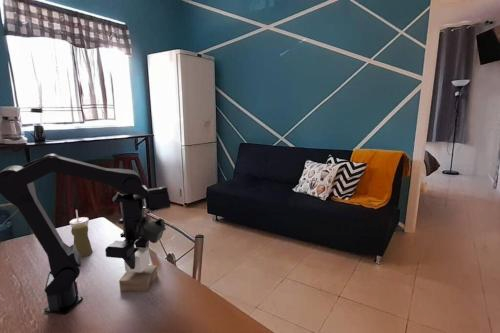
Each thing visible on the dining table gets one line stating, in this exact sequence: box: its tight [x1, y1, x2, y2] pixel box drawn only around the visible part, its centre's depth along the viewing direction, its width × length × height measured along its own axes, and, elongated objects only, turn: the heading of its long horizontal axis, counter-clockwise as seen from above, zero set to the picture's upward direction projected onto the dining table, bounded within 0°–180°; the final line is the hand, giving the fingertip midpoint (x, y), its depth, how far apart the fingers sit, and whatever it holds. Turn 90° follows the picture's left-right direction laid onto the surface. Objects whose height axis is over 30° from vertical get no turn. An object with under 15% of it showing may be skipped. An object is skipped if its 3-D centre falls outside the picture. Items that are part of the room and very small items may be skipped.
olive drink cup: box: [70, 224, 94, 259], centre depth 102 cm, size 6×6×11 cm
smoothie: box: [69, 209, 90, 236], centre depth 109 cm, size 6×6×14 cm
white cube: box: [123, 246, 151, 273], centre depth 84 cm, size 5×5×5 cm
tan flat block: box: [118, 264, 158, 293], centre depth 85 cm, size 8×8×4 cm
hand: (137, 263), depth 84 cm, fingers closed on white cube, 5 cm apart
